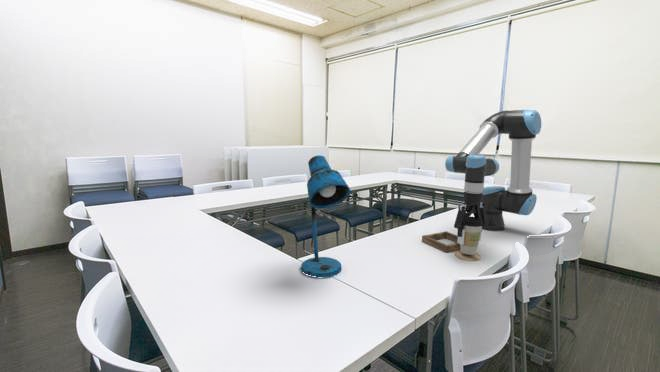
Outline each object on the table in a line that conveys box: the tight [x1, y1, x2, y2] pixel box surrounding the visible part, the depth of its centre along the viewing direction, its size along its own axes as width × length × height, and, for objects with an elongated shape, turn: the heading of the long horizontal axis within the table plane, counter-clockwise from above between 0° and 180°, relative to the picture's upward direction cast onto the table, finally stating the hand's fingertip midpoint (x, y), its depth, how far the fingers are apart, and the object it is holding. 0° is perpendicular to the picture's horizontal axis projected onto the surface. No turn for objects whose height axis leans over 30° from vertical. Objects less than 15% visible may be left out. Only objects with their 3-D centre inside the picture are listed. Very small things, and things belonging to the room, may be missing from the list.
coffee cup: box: [460, 216, 483, 255], centre depth 140 cm, size 10×10×15 cm
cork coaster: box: [454, 250, 482, 262], centre depth 142 cm, size 11×11×1 cm
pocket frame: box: [421, 231, 460, 254], centre depth 155 cm, size 16×16×3 cm
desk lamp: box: [300, 155, 351, 278], centre depth 122 cm, size 16×22×45 cm
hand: (468, 241), depth 140 cm, fingers closed on coffee cup, 10 cm apart
